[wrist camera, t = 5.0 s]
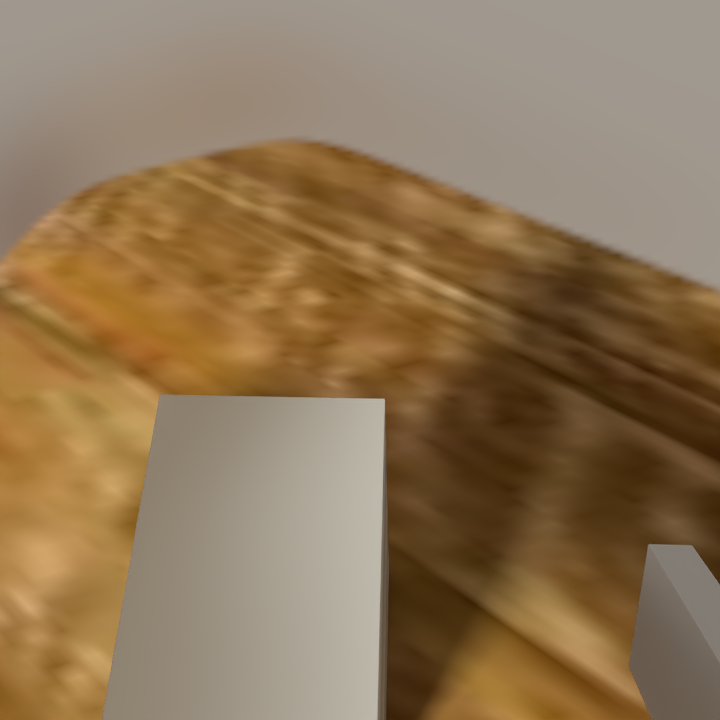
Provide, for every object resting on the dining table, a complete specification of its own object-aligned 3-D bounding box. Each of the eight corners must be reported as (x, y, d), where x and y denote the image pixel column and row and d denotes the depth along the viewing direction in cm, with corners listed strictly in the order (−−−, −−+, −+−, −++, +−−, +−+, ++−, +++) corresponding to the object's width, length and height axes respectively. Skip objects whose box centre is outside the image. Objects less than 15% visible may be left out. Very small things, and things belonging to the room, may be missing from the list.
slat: (388, 565, 18) (385, 399, 7) (385, 781, 16) (371, 999, 5) (297, 562, 18) (159, 395, 7) (281, 776, 16) (55, 978, 5)
